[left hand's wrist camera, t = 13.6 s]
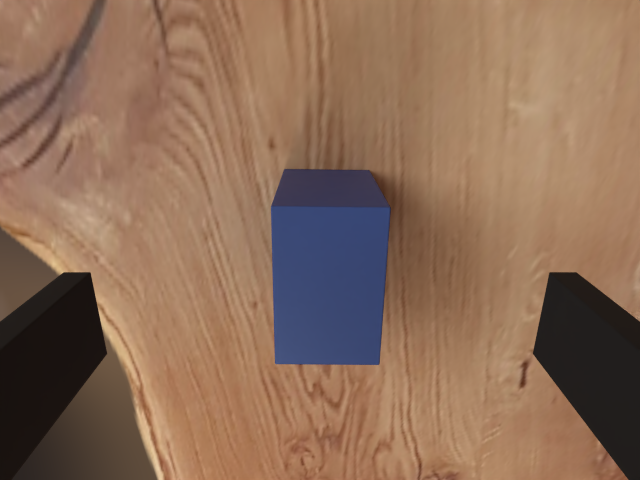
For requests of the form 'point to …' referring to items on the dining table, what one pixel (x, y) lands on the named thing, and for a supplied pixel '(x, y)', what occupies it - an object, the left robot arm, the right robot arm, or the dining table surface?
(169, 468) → the dining table surface
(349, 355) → the block
